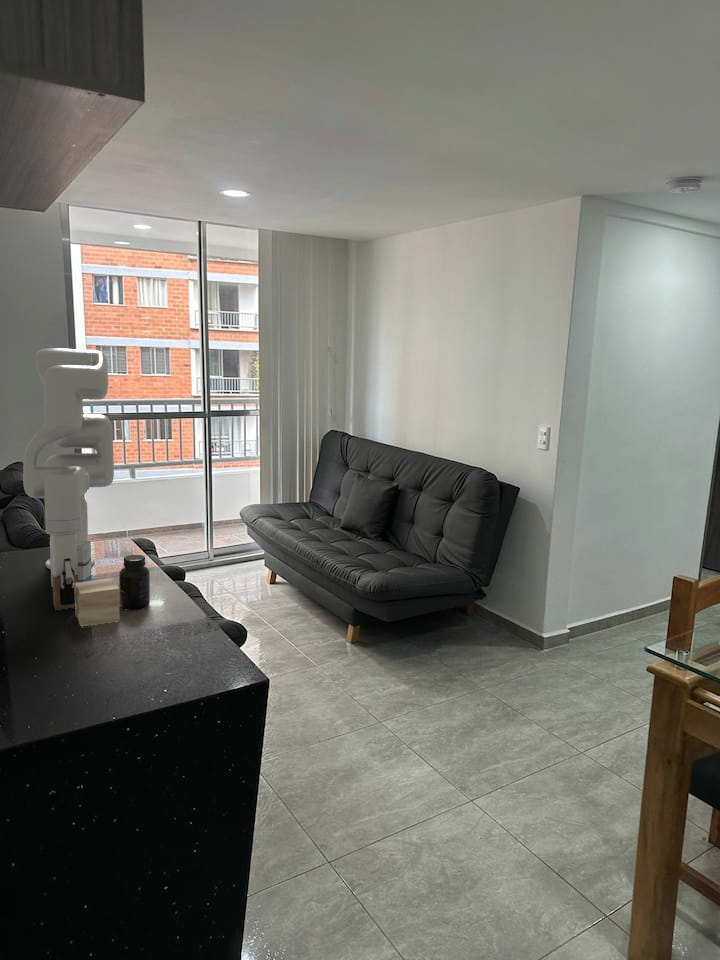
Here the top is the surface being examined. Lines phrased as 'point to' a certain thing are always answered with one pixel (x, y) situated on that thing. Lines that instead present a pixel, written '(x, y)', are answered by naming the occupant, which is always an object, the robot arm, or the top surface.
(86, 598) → the upper maple slab
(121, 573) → the supplement bottle
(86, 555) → the ink box
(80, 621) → the lower maple slab
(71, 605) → the walnut block
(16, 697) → the top surface
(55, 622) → the top surface
